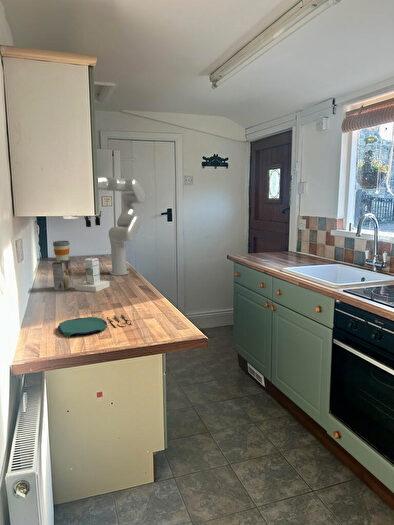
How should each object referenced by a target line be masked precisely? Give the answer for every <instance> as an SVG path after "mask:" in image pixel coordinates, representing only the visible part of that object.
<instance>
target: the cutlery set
mask: <svg viewBox="0 0 394 525" xmlns="http://www.w3.org/2000/svg"><path fill="white" fill-rule="evenodd" d="M120 315H121V317H122V316H123V317H124V318H126V317H125V315H124V314H122V313H121V314H120ZM123 317H122V318H123ZM107 318H109V319H108V320H109V323H110V322H113V323H114V320H112V319H110V317H109V316H107V317H106V319H107ZM113 318H114V319H115V320H116V321H118V320H119V321H120V319H119V318H118V317H117V315H113ZM124 318H123V319H124ZM127 321H130V320H129V319H127ZM107 325H108V323H107V321H105V320H104V319H103V318H102V317H95V316H88V317H77V318H73V319H66V320H64V321H61V322H60V323H59V324H58V326H57V330H58V331H59V332H60V333H62V334H63V335H64V336H65V337H67V336H68V338H70V337H71V336H72V335H74V336H75V335H77V336H78V335H89V334H92V333H97V332H99V331H100V332H103V331H104V330H106V329H107ZM105 328H106V329H105ZM103 329H104V330H103Z"/></svg>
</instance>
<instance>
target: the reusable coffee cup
mask: <svg viewBox="0 0 394 525" xmlns="http://www.w3.org/2000/svg"><path fill="white" fill-rule="evenodd" d="M52 246H53V253H54V255H55V259H56V262H57V261H59V260H69V255H70V241H69V240H55V241H53V242H52Z"/></svg>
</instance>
